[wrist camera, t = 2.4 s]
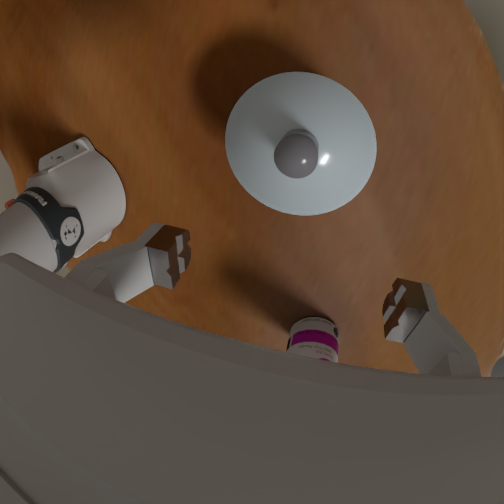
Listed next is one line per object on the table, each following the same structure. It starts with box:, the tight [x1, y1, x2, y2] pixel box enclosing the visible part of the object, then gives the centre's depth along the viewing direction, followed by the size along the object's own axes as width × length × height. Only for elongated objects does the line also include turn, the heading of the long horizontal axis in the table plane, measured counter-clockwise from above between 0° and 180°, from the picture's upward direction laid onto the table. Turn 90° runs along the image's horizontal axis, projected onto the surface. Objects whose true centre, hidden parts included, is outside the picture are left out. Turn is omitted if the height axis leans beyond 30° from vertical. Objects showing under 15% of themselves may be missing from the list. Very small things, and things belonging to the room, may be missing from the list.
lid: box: [225, 72, 377, 215], centre depth 20 cm, size 13×13×4 cm
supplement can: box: [286, 317, 339, 362], centre depth 38 cm, size 8×8×15 cm
